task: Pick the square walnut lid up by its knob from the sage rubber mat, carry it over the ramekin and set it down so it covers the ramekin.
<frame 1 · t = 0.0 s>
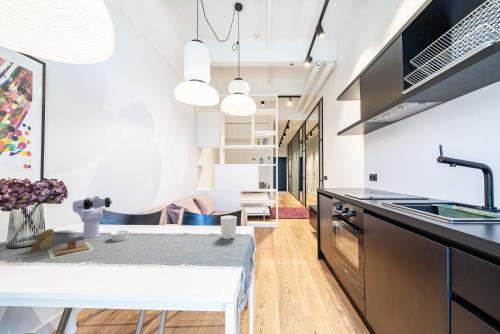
hand: (100, 203, 116), 22 cm above the table, tool horizontal, fingers open, 7 cm apart
rock: (41, 250, 106), on the table
mat: (71, 250, 106), on the table
ramekin: (120, 240, 123), on the table
lid: (71, 249, 106), resting on mat
candle holder: (228, 237, 129), on the table
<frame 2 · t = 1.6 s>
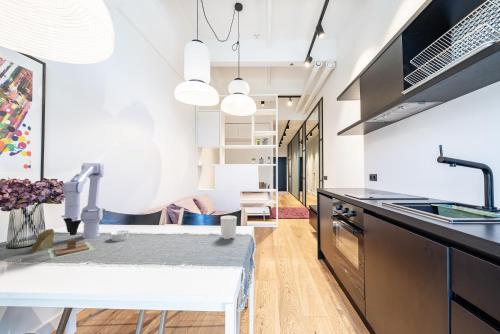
hand: (71, 233, 106), 8 cm above the table, tool pointing down, fingers open, 7 cm apart
nothing on the table moved.
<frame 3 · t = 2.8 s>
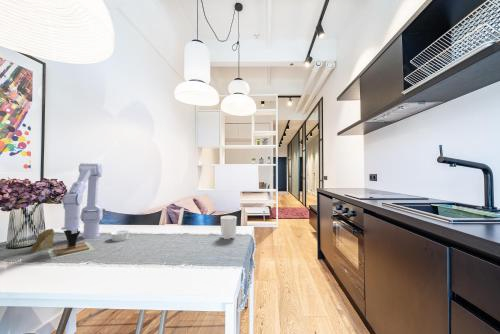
hand: (71, 245, 106), 3 cm above the table, tool pointing down, fingers closed on lid, 3 cm apart
lid: (71, 249, 106), resting on mat, touching gripper
everything else where it was.
when the fingers open (8 cm above the table, at t = 6.5 s): lid drops 1 cm, resting on ramekin.
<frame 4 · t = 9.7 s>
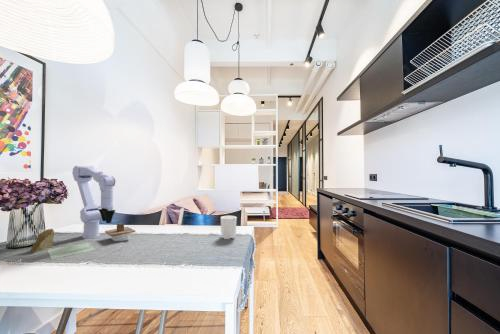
hand: (106, 221, 121), 10 cm above the table, tool pointing down, fingers open, 7 cm apart
ramekin: (120, 240, 123), on the table, touching lid
lid: (120, 232, 123), point 4 cm above the table, touching ramekin
everything else where it was.
at the end: lid 0.3 cm off-centre on the ramekin, point 4.5 cm above the ramekin's base; lid tilted 0°; the gripper is holding nothing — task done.
